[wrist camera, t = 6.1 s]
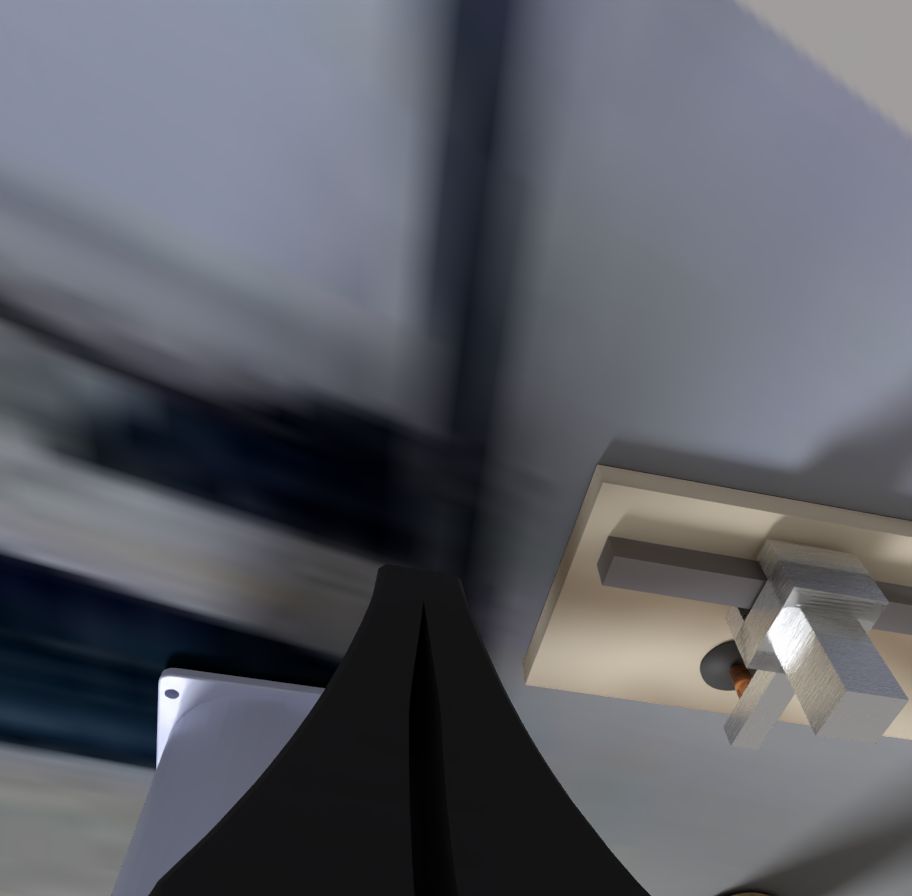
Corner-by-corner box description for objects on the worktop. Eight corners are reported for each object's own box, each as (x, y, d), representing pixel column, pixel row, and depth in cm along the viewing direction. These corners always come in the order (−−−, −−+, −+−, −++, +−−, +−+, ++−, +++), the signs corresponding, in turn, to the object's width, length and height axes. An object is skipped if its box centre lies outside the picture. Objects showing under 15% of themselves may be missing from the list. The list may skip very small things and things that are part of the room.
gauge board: (1001, 733, 31) (1034, 777, 29) (522, 663, 29) (527, 707, 27) (1151, 564, 27) (1200, 605, 25) (597, 464, 24) (608, 501, 22)
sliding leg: (762, 701, 28) (822, 838, 24) (685, 689, 28) (731, 826, 23) (855, 554, 24) (946, 682, 20) (767, 538, 24) (839, 666, 20)
